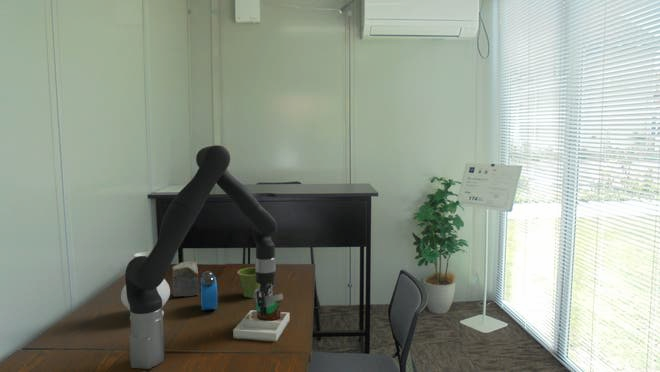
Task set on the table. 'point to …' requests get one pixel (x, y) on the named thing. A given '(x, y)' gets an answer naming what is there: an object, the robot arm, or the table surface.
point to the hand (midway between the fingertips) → (266, 312)
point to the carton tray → (260, 327)
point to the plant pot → (248, 281)
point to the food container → (270, 307)
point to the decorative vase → (162, 288)
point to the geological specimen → (185, 279)
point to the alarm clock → (208, 291)
